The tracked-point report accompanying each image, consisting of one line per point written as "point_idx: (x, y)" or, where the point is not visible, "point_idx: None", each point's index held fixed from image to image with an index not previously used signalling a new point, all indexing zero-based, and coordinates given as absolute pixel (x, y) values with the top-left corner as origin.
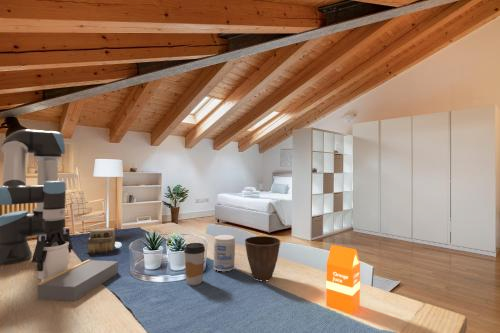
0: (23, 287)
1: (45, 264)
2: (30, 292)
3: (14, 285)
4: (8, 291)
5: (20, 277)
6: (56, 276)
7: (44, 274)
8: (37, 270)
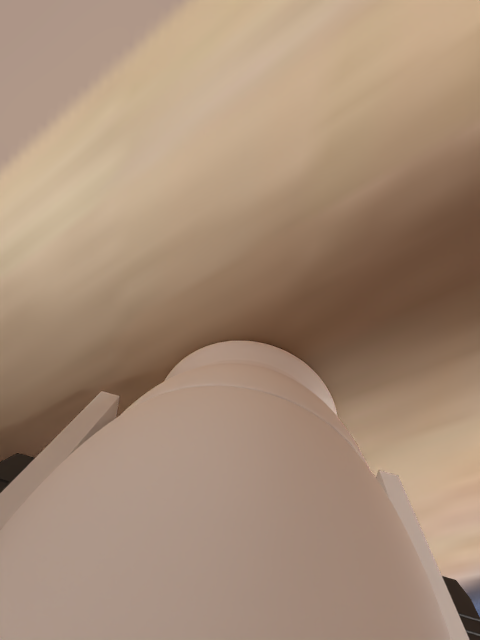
0: (123, 251)
1: None
2: (37, 360)
3: (169, 131)
4: (44, 172)
5: (402, 28)
6: None
7: None
8: (6, 462)
